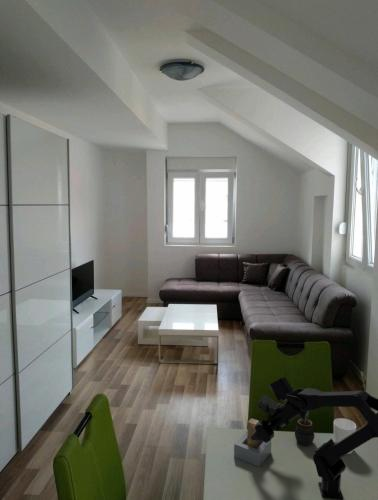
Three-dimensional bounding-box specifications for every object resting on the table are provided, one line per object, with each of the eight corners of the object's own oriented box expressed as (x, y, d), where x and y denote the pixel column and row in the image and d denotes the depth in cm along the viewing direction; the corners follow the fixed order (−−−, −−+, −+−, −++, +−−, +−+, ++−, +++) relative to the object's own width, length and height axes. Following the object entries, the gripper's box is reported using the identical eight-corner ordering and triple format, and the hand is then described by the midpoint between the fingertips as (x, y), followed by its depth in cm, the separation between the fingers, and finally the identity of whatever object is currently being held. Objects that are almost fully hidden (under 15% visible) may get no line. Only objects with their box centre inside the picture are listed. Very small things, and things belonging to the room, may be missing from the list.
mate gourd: (296, 447, 150) (297, 421, 149) (292, 435, 158) (293, 411, 157) (316, 447, 150) (317, 422, 149) (310, 436, 158) (311, 412, 157)
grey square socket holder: (270, 452, 147) (271, 440, 146) (259, 466, 139) (259, 454, 138) (246, 443, 152) (246, 431, 152) (233, 456, 144) (234, 443, 144)
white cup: (351, 443, 153) (352, 418, 152) (357, 456, 145) (359, 430, 144) (330, 442, 154) (331, 417, 152) (335, 454, 146) (336, 428, 145)
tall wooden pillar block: (258, 451, 146) (258, 420, 145) (254, 455, 143) (255, 424, 142) (250, 448, 148) (251, 418, 146) (247, 453, 145) (247, 421, 144)
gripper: (282, 382, 146) (254, 402, 154) (260, 402, 131) (230, 424, 139) (302, 409, 143) (273, 428, 150) (282, 433, 127) (251, 453, 135)
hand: (257, 432), depth 144 cm, fingers open, 9 cm apart
